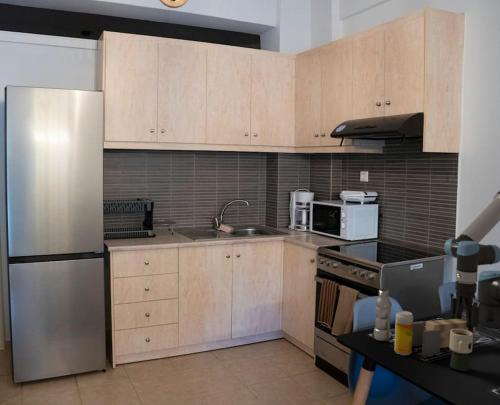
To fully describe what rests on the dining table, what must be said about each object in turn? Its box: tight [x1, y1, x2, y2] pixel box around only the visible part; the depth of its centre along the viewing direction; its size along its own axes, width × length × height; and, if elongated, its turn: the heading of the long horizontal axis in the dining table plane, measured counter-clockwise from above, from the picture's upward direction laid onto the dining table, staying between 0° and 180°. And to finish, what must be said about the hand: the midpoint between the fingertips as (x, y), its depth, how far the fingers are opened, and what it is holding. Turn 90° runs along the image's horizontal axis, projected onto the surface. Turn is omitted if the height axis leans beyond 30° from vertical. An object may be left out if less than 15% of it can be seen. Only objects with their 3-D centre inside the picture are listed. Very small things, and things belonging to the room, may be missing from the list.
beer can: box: [394, 310, 414, 356], centre depth 179 cm, size 6×6×15 cm
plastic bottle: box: [373, 288, 393, 342], centre depth 191 cm, size 6×7×20 cm
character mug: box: [448, 329, 474, 372], centre depth 166 cm, size 11×7×13 cm, turn 156°
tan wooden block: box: [424, 317, 477, 349], centre depth 187 cm, size 20×4×9 cm, turn 110°
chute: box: [412, 320, 443, 357], centre depth 182 cm, size 7×12×9 cm, turn 20°
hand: (462, 340), depth 189 cm, fingers closed on tan wooden block, 4 cm apart
